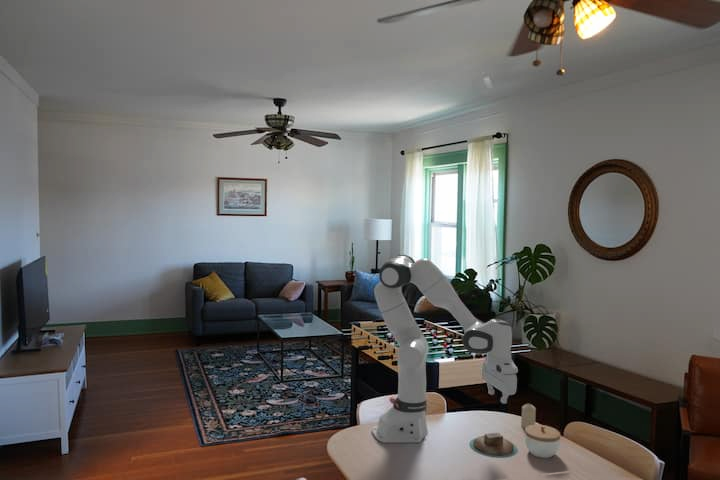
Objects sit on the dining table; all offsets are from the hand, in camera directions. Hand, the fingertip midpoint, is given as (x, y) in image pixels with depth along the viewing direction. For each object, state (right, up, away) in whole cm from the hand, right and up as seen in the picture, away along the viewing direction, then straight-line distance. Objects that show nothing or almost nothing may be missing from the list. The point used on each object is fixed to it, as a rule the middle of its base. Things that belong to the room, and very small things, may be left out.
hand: (497, 398), depth 212 cm
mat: (-1, -20, +2) cm, 20 cm away
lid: (-1, -19, +2) cm, 19 cm away
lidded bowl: (+16, -21, -3) cm, 26 cm away
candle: (+18, -19, +22) cm, 34 cm away
